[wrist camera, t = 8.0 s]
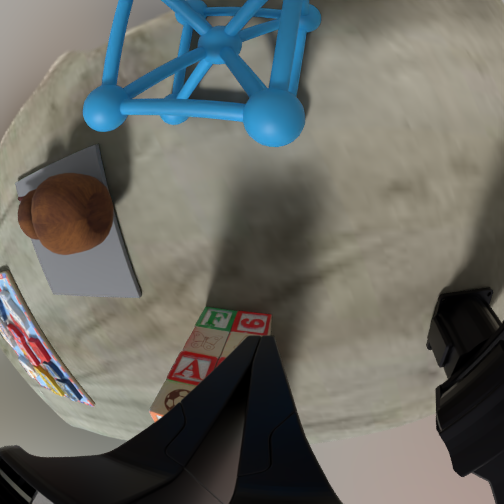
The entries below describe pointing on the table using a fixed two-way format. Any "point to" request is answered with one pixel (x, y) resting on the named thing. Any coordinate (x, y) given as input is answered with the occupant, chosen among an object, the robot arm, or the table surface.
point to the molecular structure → (208, 53)
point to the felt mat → (91, 261)
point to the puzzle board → (34, 344)
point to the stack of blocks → (207, 352)
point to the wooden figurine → (67, 213)
